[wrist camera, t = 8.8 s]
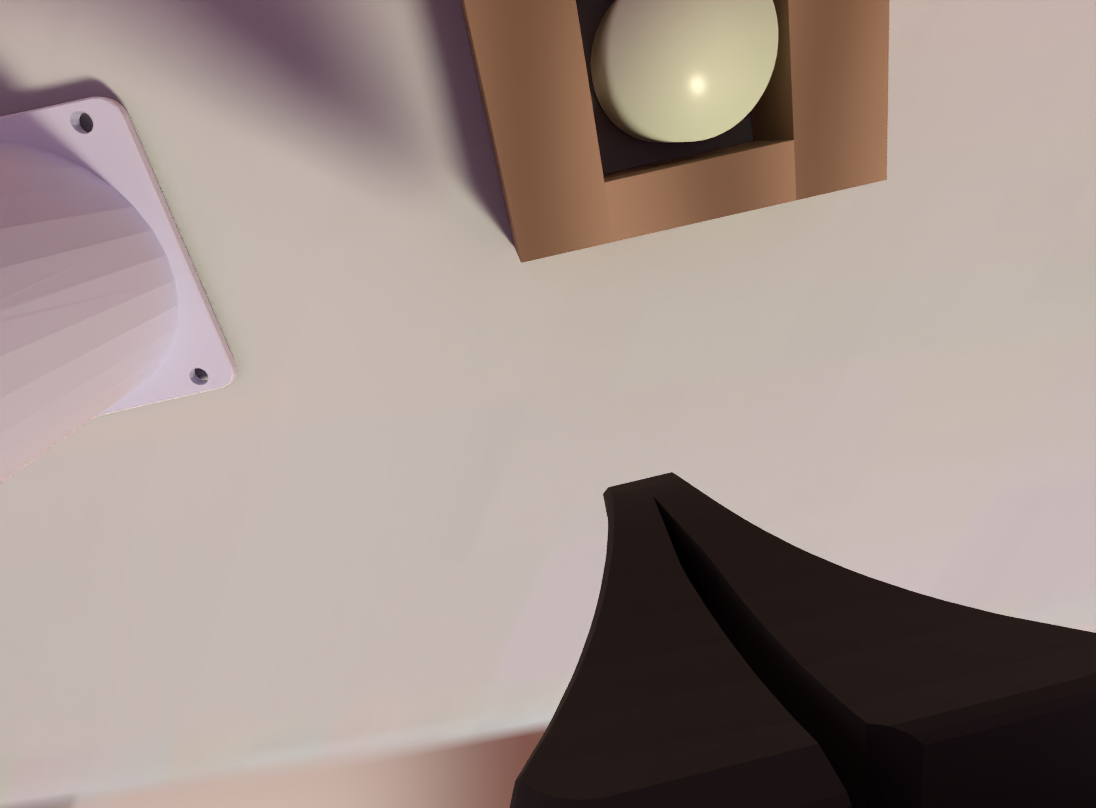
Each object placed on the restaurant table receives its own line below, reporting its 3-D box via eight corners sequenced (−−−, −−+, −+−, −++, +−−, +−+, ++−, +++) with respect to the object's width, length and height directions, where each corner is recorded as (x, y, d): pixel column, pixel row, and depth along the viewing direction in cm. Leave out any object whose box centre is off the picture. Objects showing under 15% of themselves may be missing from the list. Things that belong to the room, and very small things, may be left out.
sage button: (603, 156, 18) (624, 157, 15) (578, -7, 16) (597, -36, 14) (740, 125, 18) (782, 122, 15) (728, -40, 16) (773, -73, 14)
